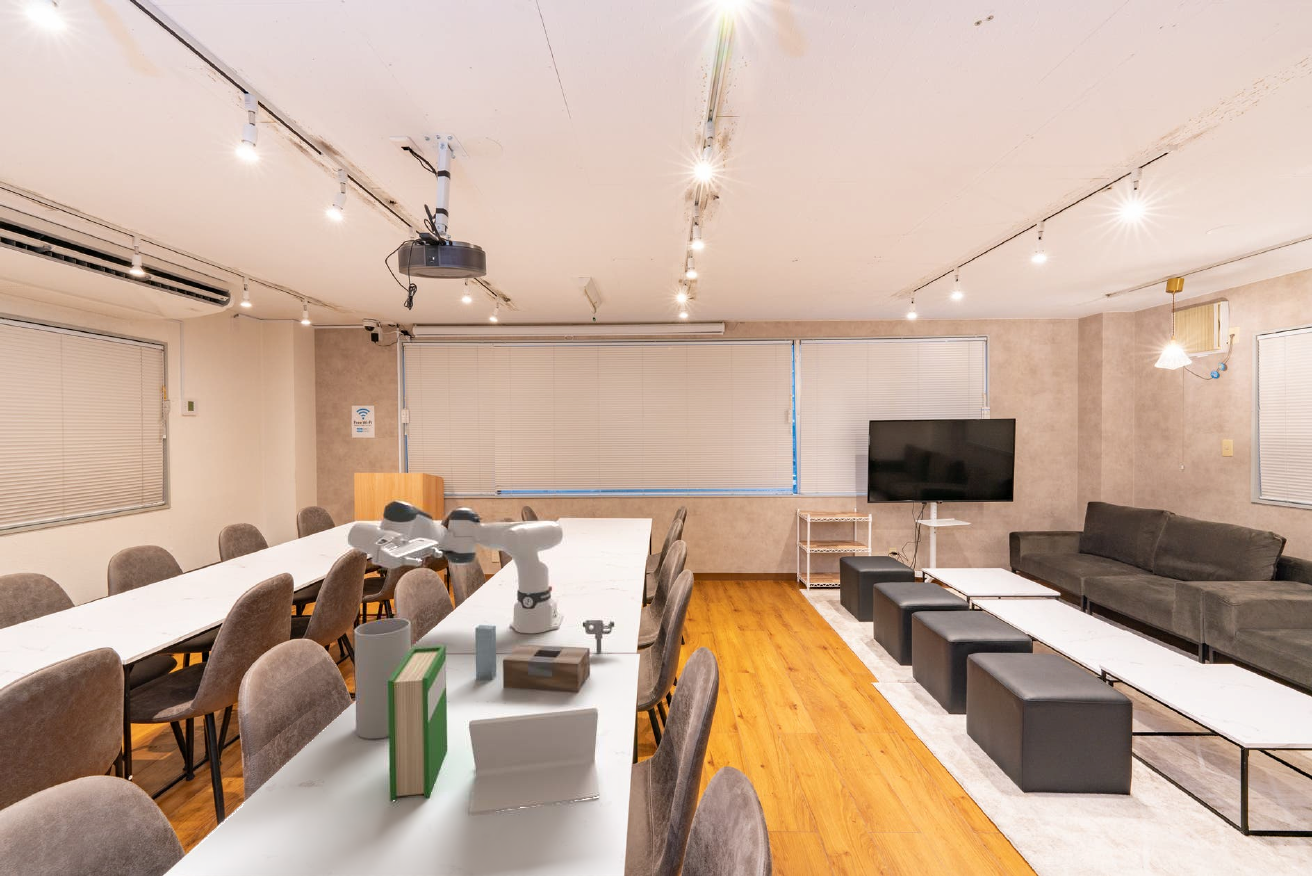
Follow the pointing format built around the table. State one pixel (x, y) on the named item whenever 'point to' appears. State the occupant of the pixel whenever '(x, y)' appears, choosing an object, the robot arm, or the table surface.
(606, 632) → the mechanical component
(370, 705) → the cylinder vase
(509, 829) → the table surface
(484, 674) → the tall rectangular metal block
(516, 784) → the tablet stand
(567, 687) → the brown boxy piece
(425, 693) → the hardback book
